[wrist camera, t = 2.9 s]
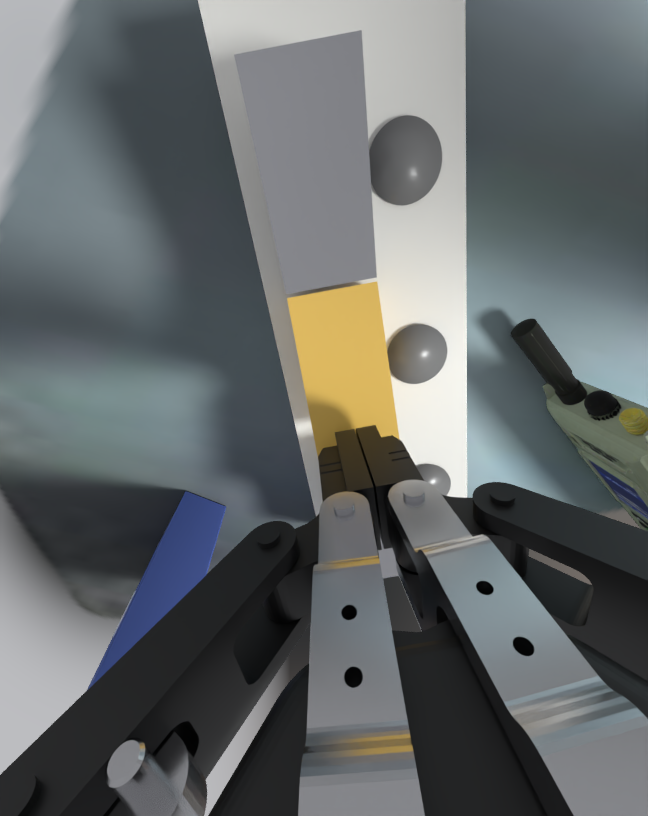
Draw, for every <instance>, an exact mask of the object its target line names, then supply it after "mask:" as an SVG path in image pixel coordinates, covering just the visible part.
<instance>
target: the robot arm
mask: <svg viewBox="0 0 648 816" xmlns="http://www.w3.org/2000/svg"><path fill="white" fill-rule="evenodd" d="M335 437H336V443H337V446H331V447H326V448H323V449H322V451H321V452H320V454H319V456H318V462H319V471H320V481H321V490H322V500H323V503H322V504H321V506H320V511H319V514H318V515H317V516H316V518H314V519H313V520H312V521H310V522H309V523H307V524H305V525H303V526H301V527H298V528H296V529H294V528H293V527H292V526H291V525H290V524H288V523H286V522H282V521H273V522H268V523H265V524H262V525H260V526H258V527H257V528H255V529H254V530H253V531H251V532H250V533H249V534H248V535H247V536H246V537H245V538H244V539H243V540H242V541H241V542H240V543H239V544H238V545H237V546H236V547H235V548H234V549H233V550H232V551H231V552H230V553H229V554H228V555H227V556H226V557H224V558H223V559H222V560H221V561H220V562H219V563H218V564H217V565H216V566H215V567H214V568H213V569H212V570H211V571H210V572H209V573H208V574H207V575H206V576H205V577H204V578H203V579H202V580H201V581H200V582H199V583H198V584H197V585H196V586H195V587H194V588H193V589H191V590H190V591H189V592H188V593H187V594H186V595H185V596H184V597H183V598H182V599H181V600H180V601H179V602H178V603H177V604H176V605H175V606H174V607H173V608H172V609H171V610H170V611H169V612H168V613H167V614H166V615H165V616H164V617H163V618H162V619H161V620H159V621H158V622H157V623H156V624H155V625H154V626H153V627H152V628H151V629H150V630H149V631H148V632H147V633H146V634H145V635H144V636H143V637H142V638H141V639H140V640H139V641H138V642H137V643H136V644H135V645H134V646H133V647H132V648H131V649H130V650H129V651H128V652H126V653H125V654H124V655H123V656H122V657H121V658H120V659H119V660H118V661H117V662H116V663H115V664H114V665H113V666H112V667H111V668H110V669H109V670H108V671H107V672H106V673H105V674H104V675H103V676H102V677H101V678H100V679H99V680H98V681H97V682H96V683H95V684H93V685H92V686H91V687H90V688H89V689H88V690H87V691H86V692H85V693H84V694H83V695H82V696H81V697H80V698H79V699H78V700H77V701H76V702H75V703H74V704H73V705H72V706H71V707H70V708H69V709H68V710H67V711H66V712H65V713H64V714H63V715H62V716H60V717H59V718H58V719H57V720H56V721H55V722H54V723H53V724H52V725H51V726H50V727H49V728H48V729H47V730H46V731H45V732H44V733H43V734H42V735H41V736H40V737H39V738H38V739H37V740H36V741H35V742H34V743H33V744H32V745H31V746H30V747H28V749H27V750H26V751H24V752H23V753H22V754H21V755H20V756H19V757H18V758H17V759H16V760H15V761H14V762H13V763H12V764H11V765H10V766H9V767H8V768H7V769H6V770H5V771H4V772H3V773H2V774H1V775H0V816H204V814H205V808H206V803H207V784H206V778H207V776H208V775H209V774H210V772H211V771H212V769H213V768H214V766H215V765H216V763H217V762H218V760H219V759H220V757H221V756H222V754H223V753H224V751H225V750H226V748H227V747H228V745H229V744H230V742H231V741H232V739H233V738H234V736H235V735H236V733H237V732H238V730H239V729H240V727H241V726H242V724H243V723H244V721H245V720H246V718H247V717H248V715H249V714H250V712H251V711H252V709H253V708H254V706H255V705H256V703H257V702H258V700H259V699H260V697H261V696H262V694H263V693H264V691H265V690H266V688H267V687H268V685H269V684H270V682H271V681H272V679H273V678H274V676H275V675H276V673H277V672H278V670H279V669H280V667H281V666H282V665H283V663H284V662H285V660H286V658H287V657H288V655H289V654H290V652H291V651H292V650H293V648H294V646H295V645H296V644H297V642H298V640H299V639H300V638H301V636H302V635H303V633H304V632H305V630H306V628H307V627H308V626H309V624H310V623H311V634H310V660H309V664H308V665H306V666H305V667H304V668H303V669H302V670H301V671H299V673H298V674H297V675H296V676H295V677H294V678H293V679H292V680H291V681H290V682H289V683H288V685H287V686H286V687H285V689H284V690H283V691H282V693H281V694H280V696H279V697H278V699H277V700H276V702H275V704H274V706H273V707H272V709H271V711H270V712H269V714H268V716H267V717H266V719H265V721H264V722H263V724H262V726H261V727H260V729H259V731H258V733H257V735H256V736H255V738H254V740H253V741H252V743H251V744H250V746H249V748H248V750H247V751H246V753H245V755H244V756H243V758H242V760H241V761H240V763H239V765H238V767H237V768H236V770H235V772H234V773H233V775H232V777H231V778H230V780H229V782H228V783H227V785H226V787H225V788H224V790H223V792H222V794H221V795H220V797H219V799H218V800H217V802H216V804H215V805H214V807H213V809H212V811H211V812H210V814H209V815H208V816H648V531H645V530H642V529H639V528H637V527H634V526H630V525H628V524H625V523H622V522H619V521H616V520H613V519H610V518H607V517H605V516H602V515H599V514H596V513H593V512H590V511H587V510H584V509H581V508H579V507H576V506H573V505H570V504H567V503H564V502H561V501H558V500H555V499H552V498H550V497H547V496H544V495H541V494H538V493H535V492H532V491H529V490H526V489H523V488H520V487H518V486H515V485H511V484H508V483H501V482H492V483H486V484H483V485H481V486H479V487H477V488H476V489H475V491H474V493H473V498H463V497H450V496H445V495H442V494H441V493H440V492H439V491H438V489H437V488H436V487H435V486H434V485H432V484H430V483H428V482H426V481H424V479H423V478H422V476H421V474H420V472H419V471H418V469H417V467H416V465H415V463H414V462H413V460H412V458H411V457H410V455H409V453H408V451H407V449H406V447H405V446H404V444H403V442H402V441H401V440H399V439H397V438H396V437H394V436H393V435H391V436H386V437H381V436H380V434H379V431H378V429H377V427H376V425H371V426H366V427H360V428H356V433H355V430H354V429H350V430H344V431H339V432H335ZM380 537H381V540H380ZM381 541H382V544H383V548H384V549H388V548H393V551H394V554H395V560H396V569H397V572H398V575H399V577H400V580H401V582H402V584H403V587H404V589H405V592H406V594H407V597H408V598H409V601H410V604H411V606H412V609H413V611H414V614H415V616H416V618H417V621H418V623H419V626H420V628H421V631H422V632H405V631H392V629H391V623H390V617H389V612H388V606H387V601H386V594H385V589H384V583H383V577H382V571H381V566H380V560H379V553H378V550H382V547H381ZM529 549H531V550H534V551H536V552H538V553H541V554H543V555H545V556H547V557H549V558H551V559H554V560H556V561H558V562H560V563H562V564H565V565H567V566H569V567H571V568H573V569H575V570H577V571H579V572H581V573H582V574H583V575H585V576H586V577H587V578H588V579H589V580H590V582H591V583H592V585H589V584H587V583H584V582H582V581H580V580H578V579H576V578H574V577H571V576H569V575H567V574H565V573H563V572H561V571H558V570H557V569H554V568H552V567H550V566H548V565H546V564H544V563H542V562H539V561H537V560H535V559H533V558H531V557H529V556H528V555H529Z"/></svg>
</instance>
